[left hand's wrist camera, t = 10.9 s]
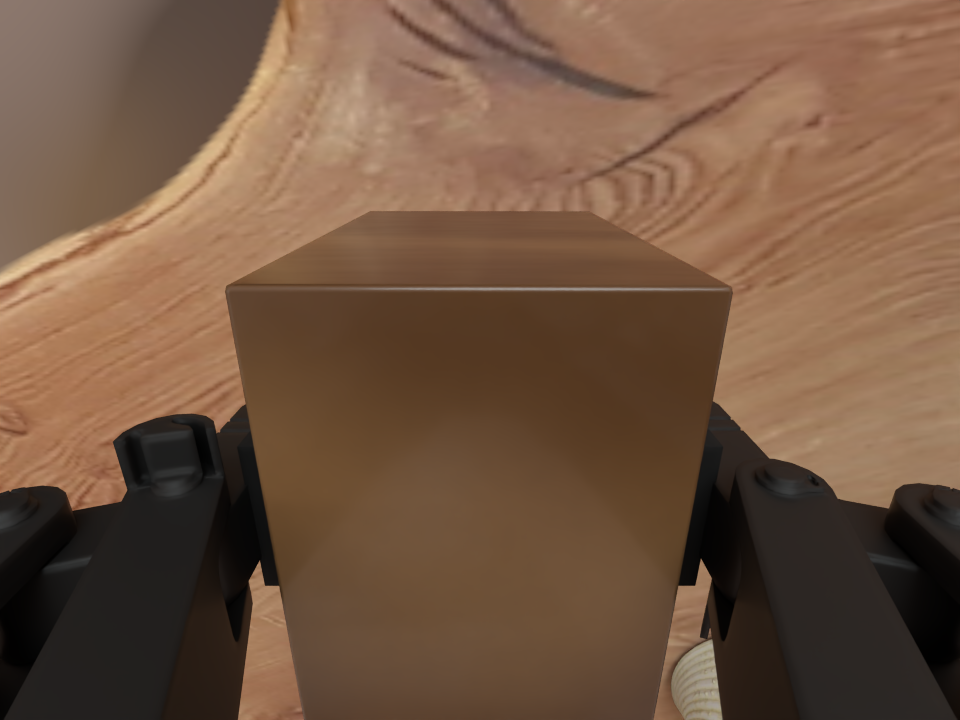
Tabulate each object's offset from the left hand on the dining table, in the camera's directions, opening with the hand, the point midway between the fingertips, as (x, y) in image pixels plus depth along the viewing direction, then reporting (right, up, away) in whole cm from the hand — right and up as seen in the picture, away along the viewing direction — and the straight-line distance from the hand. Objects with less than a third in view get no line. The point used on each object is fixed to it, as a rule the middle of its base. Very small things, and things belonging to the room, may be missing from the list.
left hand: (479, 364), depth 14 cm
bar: (0, -7, +3) cm, 8 cm away
